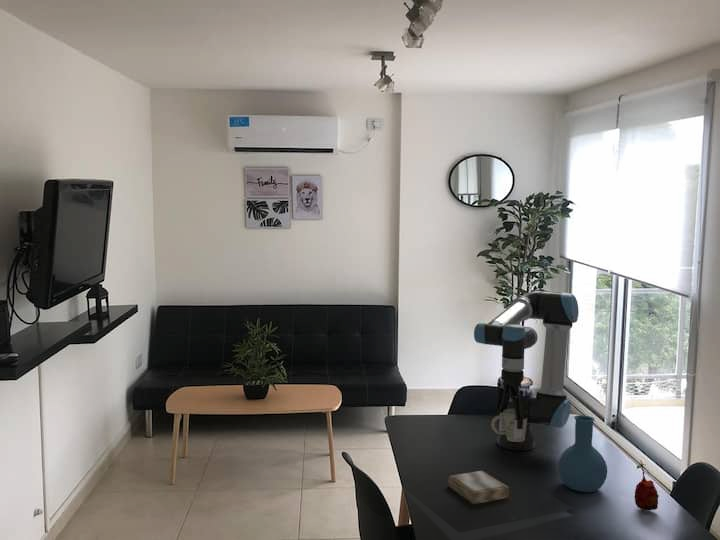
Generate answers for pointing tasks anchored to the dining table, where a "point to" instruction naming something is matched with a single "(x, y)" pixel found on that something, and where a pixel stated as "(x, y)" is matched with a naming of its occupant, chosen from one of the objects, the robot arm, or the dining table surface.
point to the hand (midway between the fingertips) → (510, 434)
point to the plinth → (478, 487)
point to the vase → (582, 460)
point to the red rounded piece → (646, 494)
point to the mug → (509, 425)
